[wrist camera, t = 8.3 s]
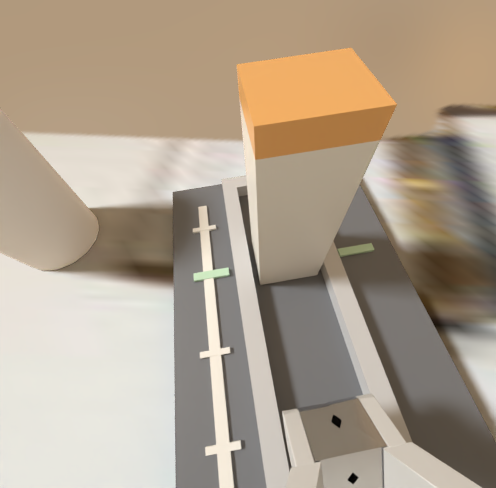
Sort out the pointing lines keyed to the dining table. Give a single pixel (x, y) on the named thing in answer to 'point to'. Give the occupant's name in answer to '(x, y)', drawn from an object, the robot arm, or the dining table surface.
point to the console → (302, 347)
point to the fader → (306, 153)
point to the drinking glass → (39, 207)
